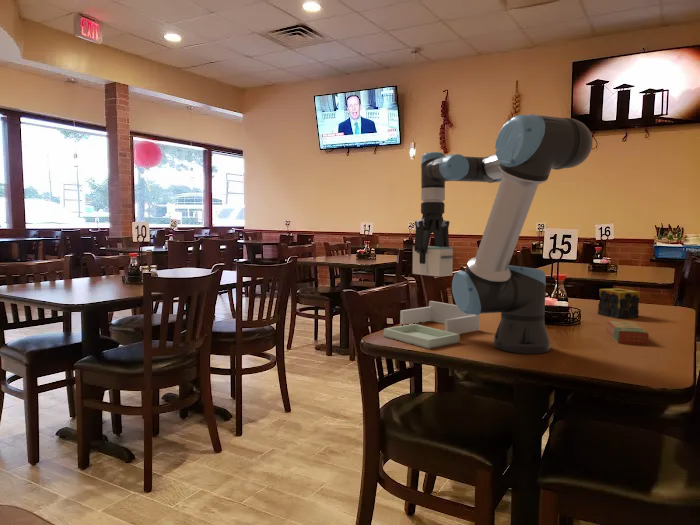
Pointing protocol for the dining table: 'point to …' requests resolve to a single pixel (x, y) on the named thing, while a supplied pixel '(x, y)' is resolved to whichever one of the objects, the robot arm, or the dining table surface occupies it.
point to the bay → (442, 317)
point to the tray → (422, 336)
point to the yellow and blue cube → (619, 303)
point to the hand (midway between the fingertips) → (431, 273)
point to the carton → (626, 332)
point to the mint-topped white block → (435, 261)
